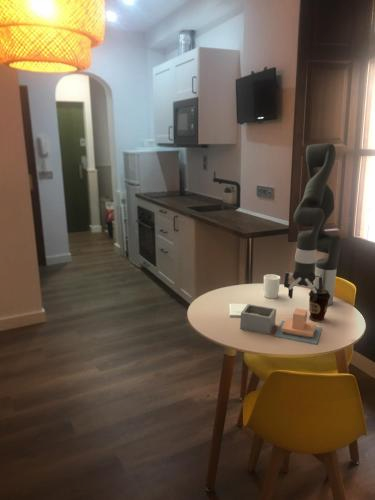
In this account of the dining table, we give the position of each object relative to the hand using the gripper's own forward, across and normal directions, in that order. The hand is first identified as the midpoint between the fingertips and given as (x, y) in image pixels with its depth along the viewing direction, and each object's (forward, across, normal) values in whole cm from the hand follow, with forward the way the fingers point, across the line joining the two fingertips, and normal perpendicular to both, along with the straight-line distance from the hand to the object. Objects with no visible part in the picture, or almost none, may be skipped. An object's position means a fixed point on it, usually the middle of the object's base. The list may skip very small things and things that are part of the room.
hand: (302, 299), depth 160 cm
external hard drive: (+15, +28, -10) cm, 33 cm away
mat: (+14, 0, 0) cm, 14 cm away
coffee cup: (+14, -5, -16) cm, 22 cm away
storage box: (+14, +16, +2) cm, 22 cm away
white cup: (+15, +19, -34) cm, 41 cm away
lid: (+14, 0, 0) cm, 14 cm away
